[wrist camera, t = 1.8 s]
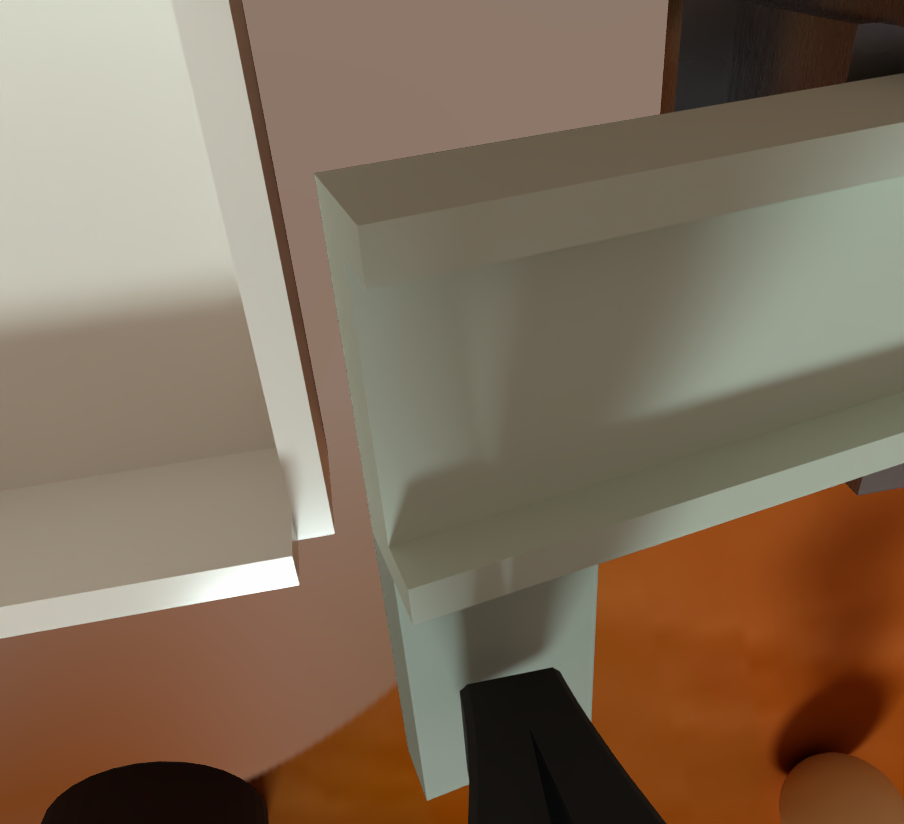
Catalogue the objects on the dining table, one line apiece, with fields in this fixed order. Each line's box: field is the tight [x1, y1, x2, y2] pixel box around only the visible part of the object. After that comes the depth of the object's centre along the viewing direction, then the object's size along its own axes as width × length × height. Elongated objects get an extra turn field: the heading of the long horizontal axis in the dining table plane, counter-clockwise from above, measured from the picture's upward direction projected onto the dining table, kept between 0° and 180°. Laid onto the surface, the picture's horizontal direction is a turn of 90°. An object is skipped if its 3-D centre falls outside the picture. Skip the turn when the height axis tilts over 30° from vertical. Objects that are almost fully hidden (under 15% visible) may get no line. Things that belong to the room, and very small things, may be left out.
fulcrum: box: [660, 0, 904, 495], centre depth 13 cm, size 5×8×6 cm, turn 4°
